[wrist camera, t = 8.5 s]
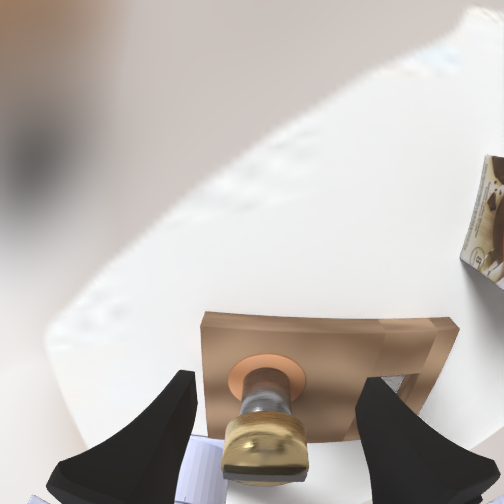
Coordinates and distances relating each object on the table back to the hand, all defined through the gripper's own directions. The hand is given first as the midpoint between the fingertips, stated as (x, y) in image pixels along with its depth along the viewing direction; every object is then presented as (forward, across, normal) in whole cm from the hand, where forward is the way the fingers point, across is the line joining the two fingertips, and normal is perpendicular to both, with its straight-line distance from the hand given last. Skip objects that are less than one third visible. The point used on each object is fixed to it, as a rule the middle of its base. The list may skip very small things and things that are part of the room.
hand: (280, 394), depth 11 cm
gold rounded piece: (+8, 0, +8) cm, 11 cm away
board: (+10, -6, +10) cm, 15 cm away
